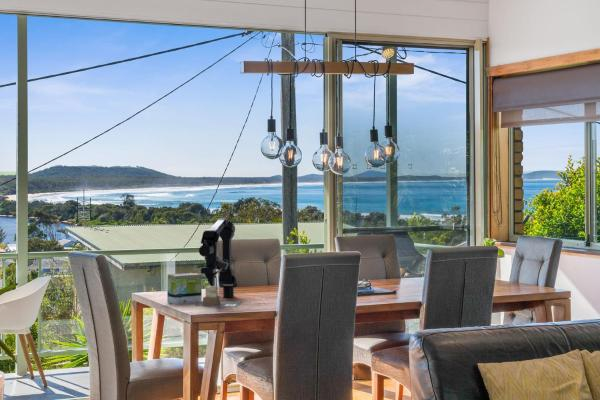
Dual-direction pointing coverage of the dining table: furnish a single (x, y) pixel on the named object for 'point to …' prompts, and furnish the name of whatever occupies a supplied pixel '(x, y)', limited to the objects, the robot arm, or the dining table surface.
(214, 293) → the grey green cube
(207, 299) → the walnut block
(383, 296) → the dining table surface
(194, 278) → the tea box
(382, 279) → the dining table surface
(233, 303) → the build mat
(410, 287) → the dining table surface
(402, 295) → the dining table surface
